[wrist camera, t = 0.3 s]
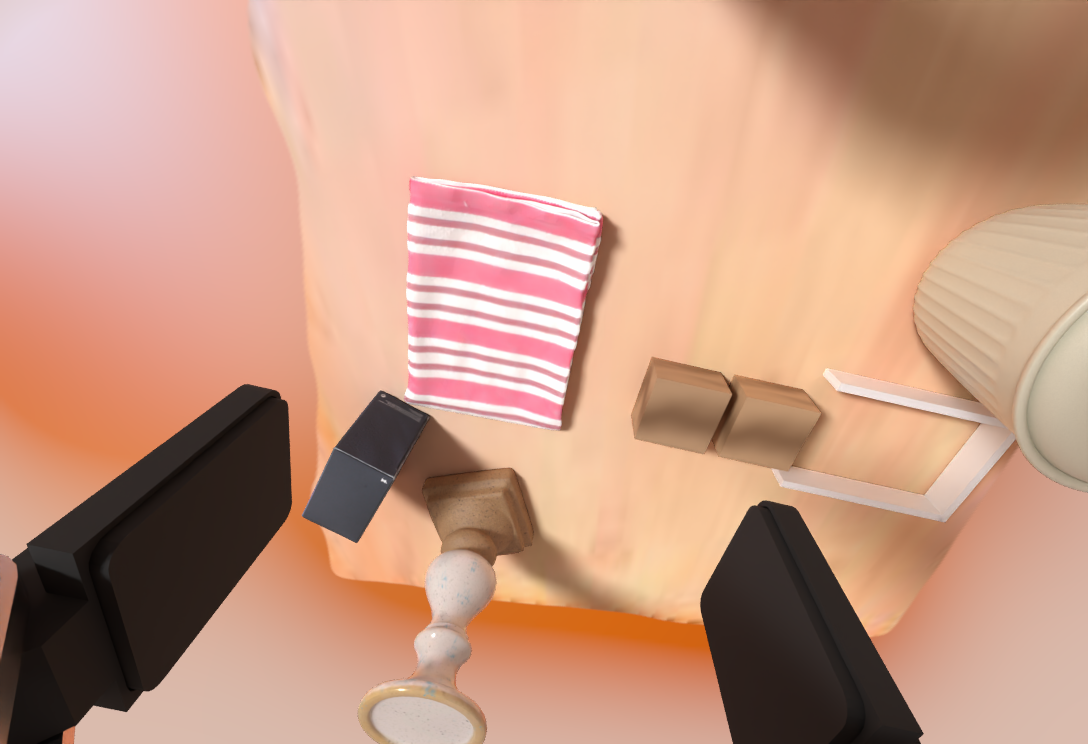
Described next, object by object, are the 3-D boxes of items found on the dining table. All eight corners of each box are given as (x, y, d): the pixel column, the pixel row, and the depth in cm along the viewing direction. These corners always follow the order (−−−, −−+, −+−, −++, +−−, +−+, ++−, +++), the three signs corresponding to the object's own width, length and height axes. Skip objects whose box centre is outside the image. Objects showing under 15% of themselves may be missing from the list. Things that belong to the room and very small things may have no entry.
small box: (377, 386, 51) (331, 445, 42) (432, 414, 52) (398, 478, 43) (345, 451, 56) (296, 518, 46) (396, 476, 57) (358, 546, 48)
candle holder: (424, 478, 56) (327, 691, 35) (513, 466, 55) (466, 684, 34) (452, 543, 61) (382, 765, 40) (535, 535, 59) (506, 763, 38)
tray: (826, 367, 46) (841, 383, 43) (1002, 407, 46) (1027, 425, 44) (770, 467, 52) (780, 486, 49) (926, 502, 52) (944, 522, 50)
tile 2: (733, 373, 47) (747, 396, 43) (802, 388, 47) (821, 413, 43) (708, 430, 50) (718, 456, 46) (772, 444, 51) (787, 471, 47)
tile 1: (651, 355, 47) (657, 377, 43) (720, 371, 47) (732, 394, 43) (630, 413, 50) (634, 439, 46) (695, 428, 50) (704, 454, 46)
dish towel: (608, 205, 41) (610, 212, 38) (561, 426, 52) (559, 445, 49) (413, 170, 41) (399, 174, 38) (407, 398, 52) (396, 415, 49)
